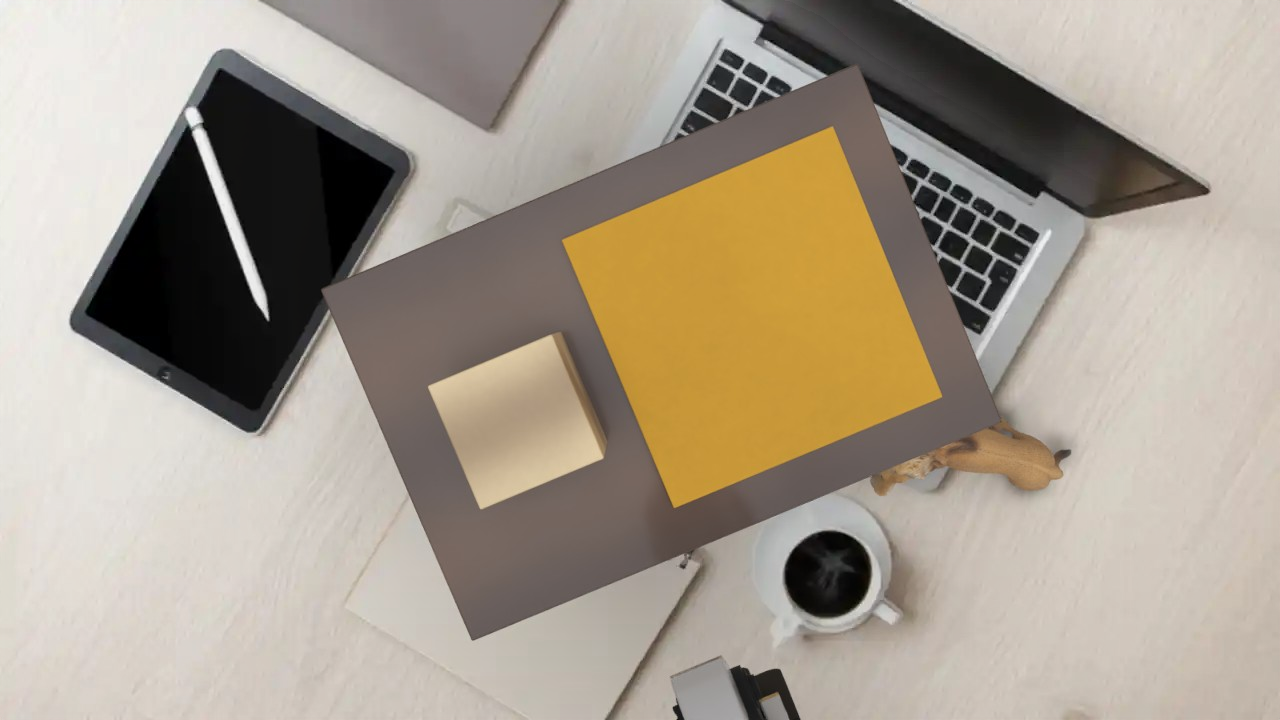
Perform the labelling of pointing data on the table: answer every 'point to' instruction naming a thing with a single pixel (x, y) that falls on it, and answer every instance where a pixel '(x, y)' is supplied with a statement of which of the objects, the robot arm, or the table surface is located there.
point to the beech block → (520, 420)
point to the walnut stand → (554, 302)
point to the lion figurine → (984, 460)
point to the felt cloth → (752, 317)
